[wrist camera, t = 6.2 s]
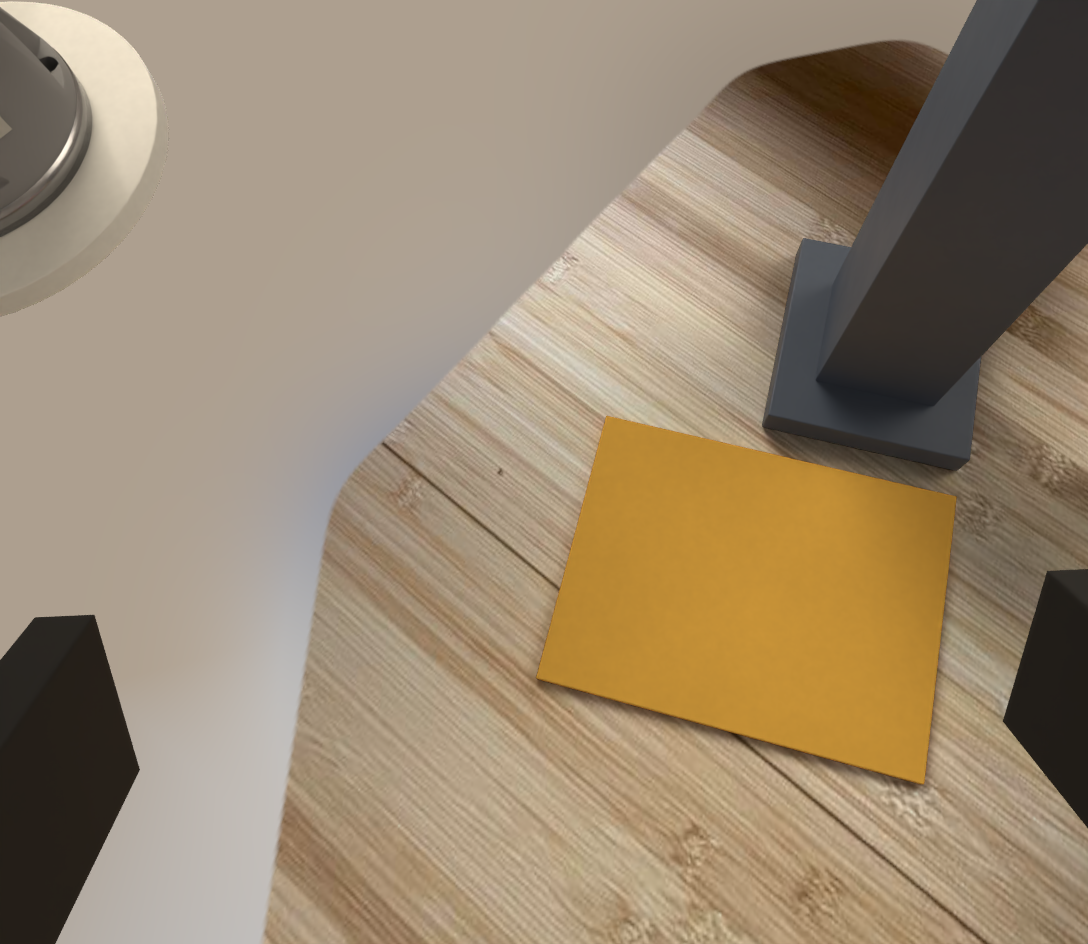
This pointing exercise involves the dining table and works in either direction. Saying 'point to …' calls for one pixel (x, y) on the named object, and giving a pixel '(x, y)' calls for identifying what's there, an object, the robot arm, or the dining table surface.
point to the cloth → (756, 597)
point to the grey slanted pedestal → (945, 244)
